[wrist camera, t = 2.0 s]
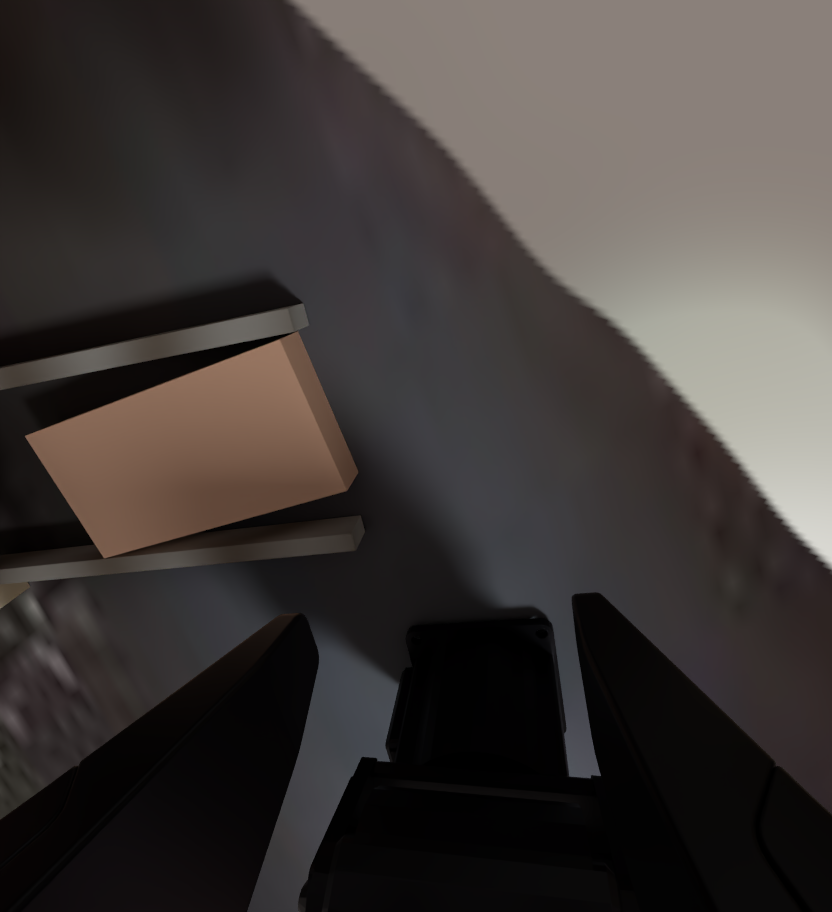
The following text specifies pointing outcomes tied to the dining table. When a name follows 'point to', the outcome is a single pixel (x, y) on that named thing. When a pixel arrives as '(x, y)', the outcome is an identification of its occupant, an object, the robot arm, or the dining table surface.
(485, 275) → the dining table surface
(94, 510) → the terracotta tile
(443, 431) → the dining table surface
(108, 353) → the birch dock
